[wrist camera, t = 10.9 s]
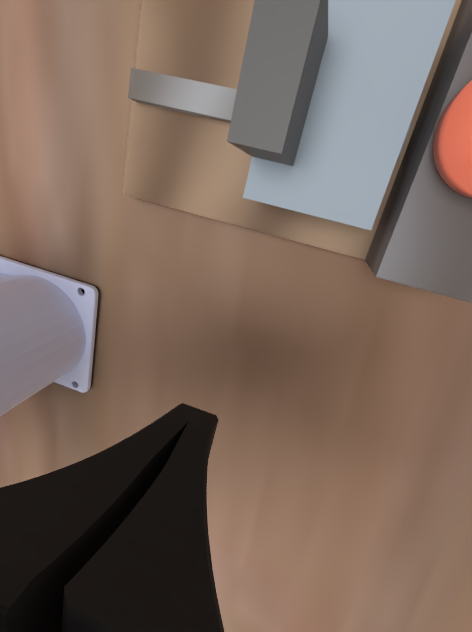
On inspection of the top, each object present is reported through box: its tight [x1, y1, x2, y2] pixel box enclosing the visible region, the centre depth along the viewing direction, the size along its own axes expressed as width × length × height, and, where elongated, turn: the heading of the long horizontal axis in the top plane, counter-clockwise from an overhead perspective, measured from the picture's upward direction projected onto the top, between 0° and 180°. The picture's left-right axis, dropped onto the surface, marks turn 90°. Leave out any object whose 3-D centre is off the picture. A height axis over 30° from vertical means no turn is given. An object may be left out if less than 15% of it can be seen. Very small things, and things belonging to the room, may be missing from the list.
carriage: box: [227, 0, 456, 230], centre depth 11 cm, size 5×7×6 cm
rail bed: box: [122, 0, 472, 303], centre depth 14 cm, size 17×10×5 cm, turn 77°
